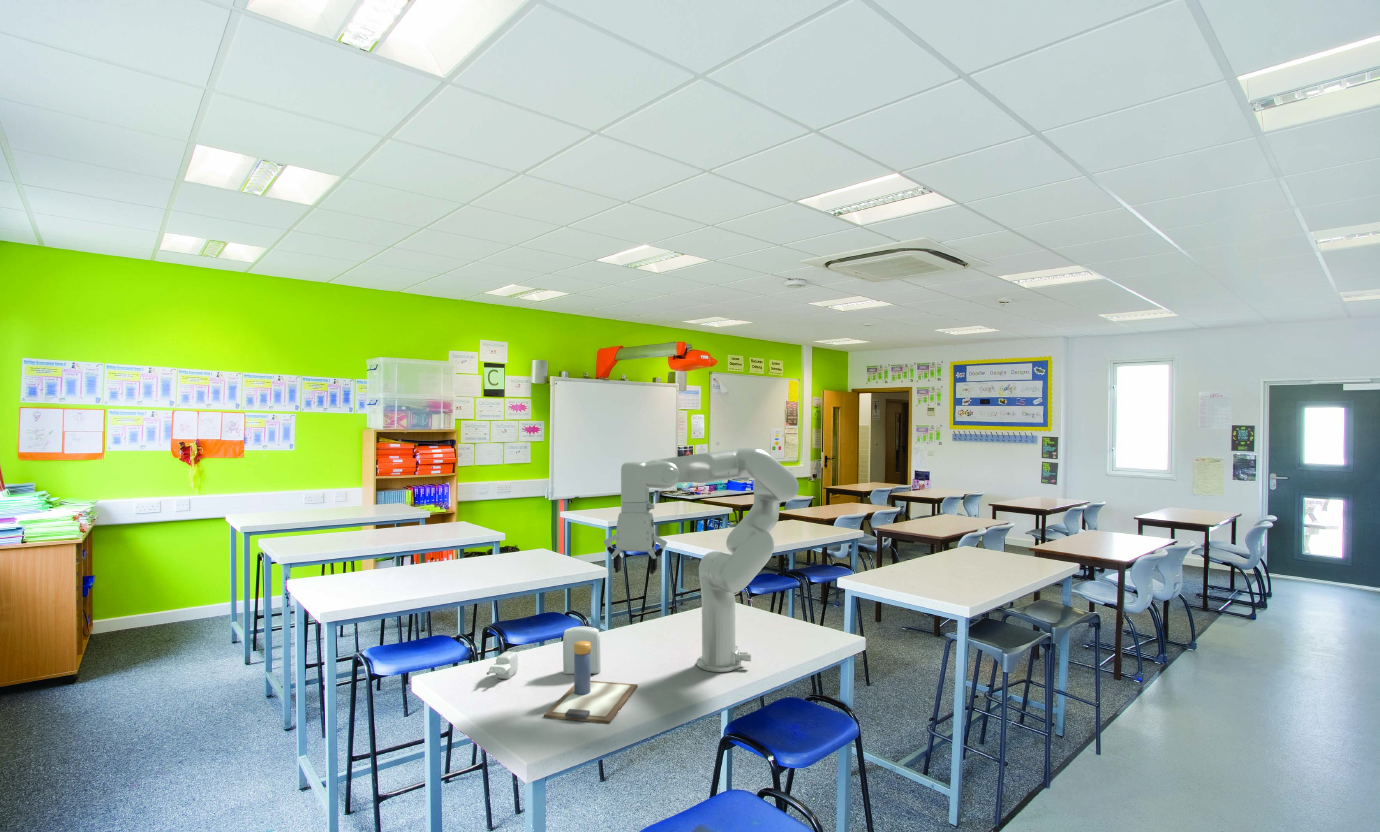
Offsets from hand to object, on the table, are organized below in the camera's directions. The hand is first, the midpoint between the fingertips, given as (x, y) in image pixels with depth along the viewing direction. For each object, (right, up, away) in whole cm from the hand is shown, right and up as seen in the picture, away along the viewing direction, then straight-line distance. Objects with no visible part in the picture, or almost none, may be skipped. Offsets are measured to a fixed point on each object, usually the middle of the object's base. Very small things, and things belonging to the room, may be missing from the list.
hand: (635, 572), depth 175 cm
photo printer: (-15, -29, +4) cm, 33 cm away
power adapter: (-36, -29, 0) cm, 46 cm away
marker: (-12, -27, -12) cm, 32 cm away
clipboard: (-9, -28, -15) cm, 33 cm away
